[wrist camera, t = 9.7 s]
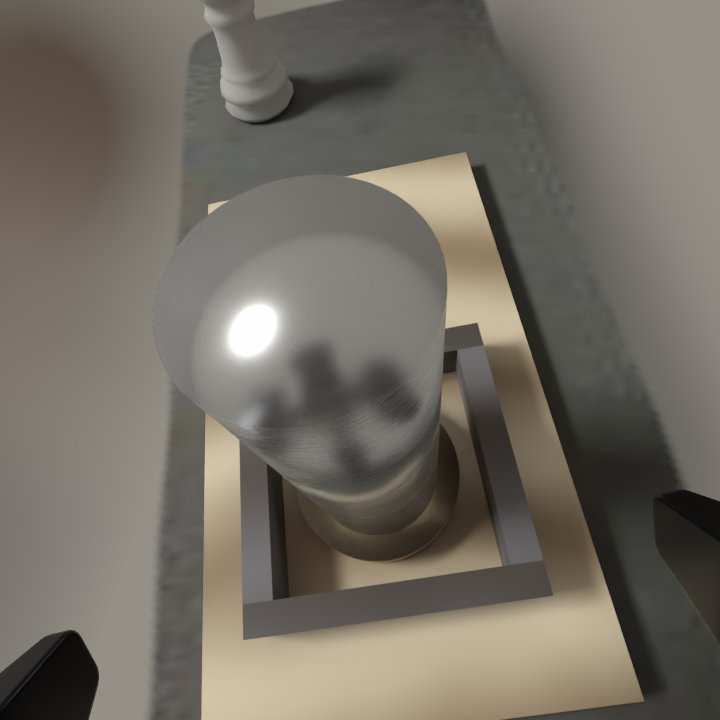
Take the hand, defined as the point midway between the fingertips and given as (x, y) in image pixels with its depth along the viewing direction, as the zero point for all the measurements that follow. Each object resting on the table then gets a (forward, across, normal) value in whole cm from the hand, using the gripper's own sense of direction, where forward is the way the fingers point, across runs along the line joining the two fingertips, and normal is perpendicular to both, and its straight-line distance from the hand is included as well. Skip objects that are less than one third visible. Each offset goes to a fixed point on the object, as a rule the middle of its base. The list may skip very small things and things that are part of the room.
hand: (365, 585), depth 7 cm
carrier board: (+14, 0, +2) cm, 14 cm away
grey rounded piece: (+10, 0, +5) cm, 11 cm away
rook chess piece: (+29, +2, -12) cm, 32 cm away
